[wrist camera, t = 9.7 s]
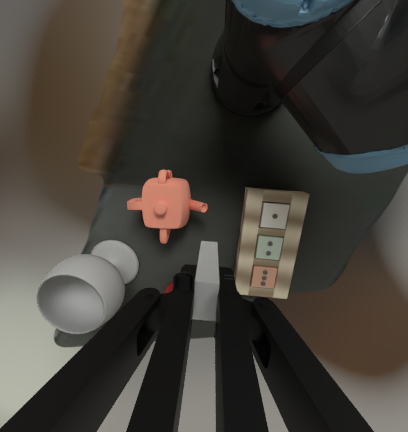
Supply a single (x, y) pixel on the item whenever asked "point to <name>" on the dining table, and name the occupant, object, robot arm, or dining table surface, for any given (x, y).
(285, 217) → the key one
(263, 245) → the key two
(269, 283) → the key three
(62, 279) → the chalice
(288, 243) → the key board
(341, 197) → the dining table surface
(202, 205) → the teapot
